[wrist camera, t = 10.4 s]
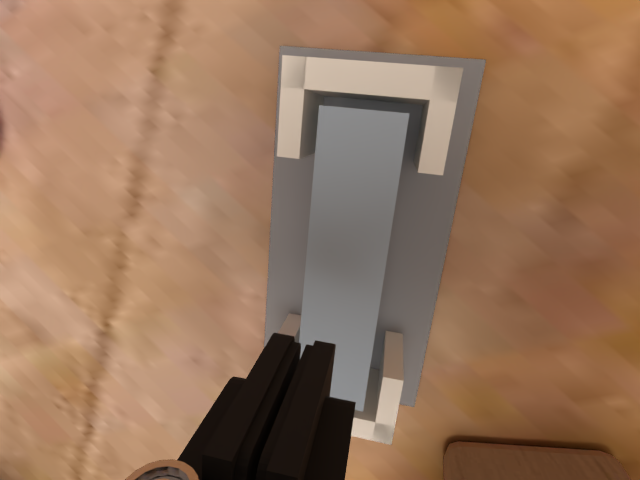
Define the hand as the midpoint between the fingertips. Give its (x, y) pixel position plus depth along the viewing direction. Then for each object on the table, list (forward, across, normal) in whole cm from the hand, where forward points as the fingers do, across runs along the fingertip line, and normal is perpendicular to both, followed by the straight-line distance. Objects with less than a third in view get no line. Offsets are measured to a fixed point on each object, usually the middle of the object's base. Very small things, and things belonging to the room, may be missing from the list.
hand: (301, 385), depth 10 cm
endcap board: (+13, 0, 0) cm, 13 cm away
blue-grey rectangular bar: (+12, 0, 0) cm, 12 cm away
